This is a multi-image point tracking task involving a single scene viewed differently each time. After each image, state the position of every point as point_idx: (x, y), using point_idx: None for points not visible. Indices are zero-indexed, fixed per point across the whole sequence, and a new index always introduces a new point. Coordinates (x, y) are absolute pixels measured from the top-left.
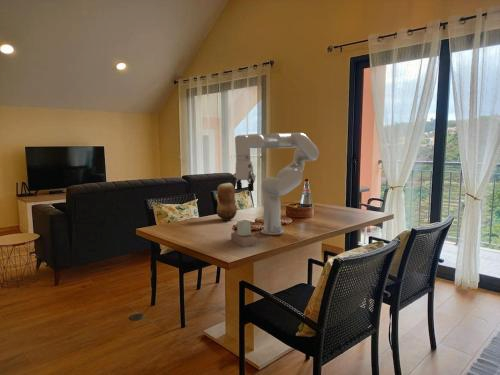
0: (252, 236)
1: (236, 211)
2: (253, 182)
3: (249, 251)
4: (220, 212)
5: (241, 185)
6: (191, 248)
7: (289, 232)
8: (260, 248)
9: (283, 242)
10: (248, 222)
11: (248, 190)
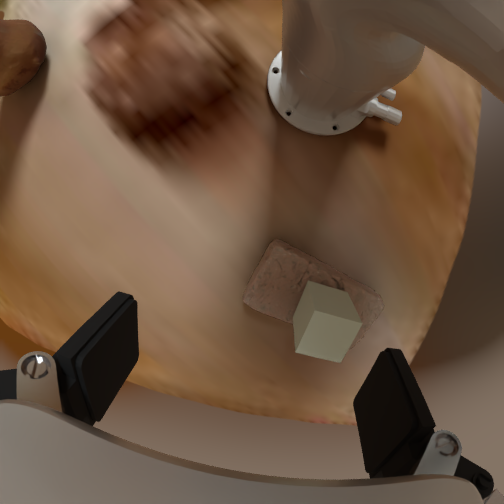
0: (360, 299)
1: (38, 31)
2: (453, 452)
3: None
4: (5, 93)
5: (108, 332)
6: (214, 405)
7: None
8: (403, 316)
9: (440, 212)
10: (355, 332)
11: (358, 410)
